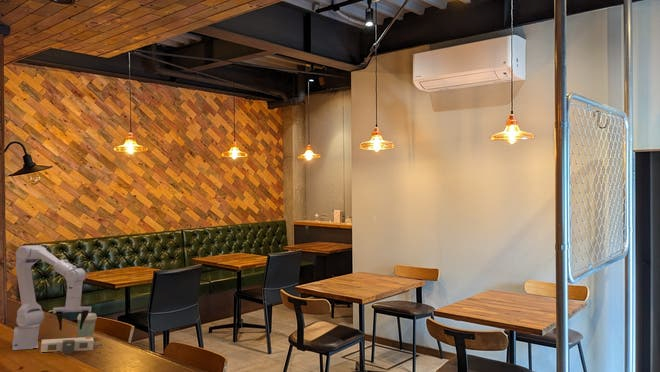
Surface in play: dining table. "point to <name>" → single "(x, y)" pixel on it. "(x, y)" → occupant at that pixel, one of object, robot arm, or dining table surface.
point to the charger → (68, 346)
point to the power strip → (80, 343)
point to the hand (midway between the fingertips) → (70, 329)
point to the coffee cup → (87, 325)
